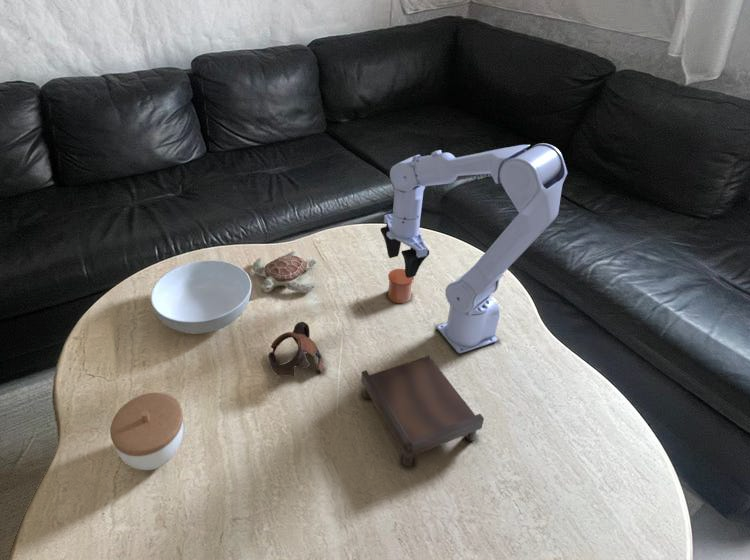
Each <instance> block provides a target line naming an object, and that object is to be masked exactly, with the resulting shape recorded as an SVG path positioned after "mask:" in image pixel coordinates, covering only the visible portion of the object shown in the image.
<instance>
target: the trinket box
mask: <svg viewBox="0 0 750 560" xmlns="http://www.w3.org/2000/svg"><path fill="white" fill-rule="evenodd" d="M184 427H185V426H184V415H183V409H182V406H181V404H180V402H179V401H178V400H177V399H176V398H175V397H174V396H172V395H171V394H167V393H164V392H147V393H144V394H141V395H138V396H136V397H134V398H132V399H130V400H129V401H127V402H126V403H125V404H123V405H122V406H121V407H120V408H119V409H118V410H117V412H116V414H115V415H114V416H113V418H112V421H111V424H110V428H109V435H110V439H111V441H112V444H113V446H114V448H115V450H116V453H117V455H118V456H119V458H120V459H121V460H122V461H123V462H124V463H125V464H126V465H127V466H129V467H131V468H132V469H135V470H138V471H153V470H156V469H158V468H160V467H162V466H164V465H166V464H168V463H169V462H170V461H171V460H172V459H173V458H174V457H175V455H176V454H177V452H178V451H179V449H180V447H181V445H182V442H183V437H184V430H185V429H184Z"/></svg>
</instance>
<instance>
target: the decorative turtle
mask: <svg viewBox="0 0 750 560" xmlns="http://www.w3.org/2000/svg"><path fill="white" fill-rule="evenodd" d="M263 260H264V259H263V257H259V258H257V259H256V260H255V261H254V262H253V264H252V267H251V270H252V271H253V272H254V273H255V274H256V275H258V276H260V277H265V278H266V279H264V280H263V281H262V282H261V283H260V289H261V290H260V291H261V293H269V292H271V291H273V290H274V289H275V287H281V286H285V287H286V288H287V289H288V290H290V291H292V292H297V293H303V294H304V293H305V294H307V293H310V292H312V291H314V290H315V289H317V287H318V286H319V285H320V284H319V282H318V281H311V282H305V283H303V282H299V281H298V280H299V279H300V277H301V276H302V275H303V273H304V271H306V270H312V269H314V268H315V267H316V266H317V263H318V262H317V260H316V259H312V258H311V259H309V260H307V261H305V260H304V259H303V258H301V257H299V256H298V252H297V251H291V252H289V253H286V254H285V255H282V256H278V257H277V258H275V259H274V260H272V261H269V262H268V263H267V264H265V266H263Z"/></svg>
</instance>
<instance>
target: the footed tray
mask: <svg viewBox="0 0 750 560" xmlns="http://www.w3.org/2000/svg"><path fill="white" fill-rule="evenodd" d="M360 382H361V385H363V388H364V389H363V397H364V398H365V399H371V401H372V402H373V404H374V406H375V408H376V409H377V411H378V412H379V415H380V417H381V418H382V419H383V421H384V423H385V424H386V426H387V428H388V430H389V432H390V433H391V435H392V436H393V438H394V439H395V442H396V443H397V445H398V446H399V448H400V450H401V451H402V453H403V458H402V464H403V465H404V467H411V466H412V465H413V457H415V456H416V455H418V454H421V453H425V452H427V451H428V450H430V449H434V448H436V447H439V446H442V445H444V444H446V443H448V442H451V441H454V440H456V439H459V438H461V437H463V436H465V438H466V440H467V441H469V442H473V441H475V440H476V435H477V431H479V430H481V429H483V424H484V420H485V418H484V416H483V415H482V413H478V414H475V413H474V411H473V410H472V409H471V408H470V406H469V405H468V404H467V402H466V401H465V400H464V399H463V397H462V396H461V394H459V392H458V391H457V389H455V387H454V386H453V384H452V383H451V382H450V381H449V379H448V377H446V375H445V374H444V373H443V371H442V370H441V369H440V368H439V366H438V365H437V364H436V363H435V362H434V360H433V359H432V357H430V355H426V356H423V357H420V358H419V357H418V358H417V359H416V358H415V359H413V360H411V361H407V362H404V363H402V364H401V363H400V364H398V365H395V366H392V367H388V368H386V369H383V370H380V371H377V372H373V373H369V372H368V370H363V371H361V378H360Z"/></svg>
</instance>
